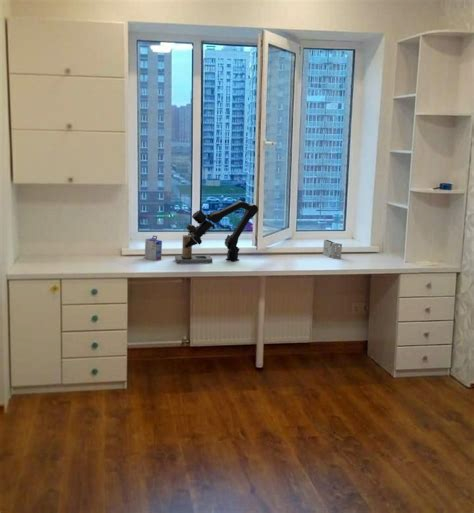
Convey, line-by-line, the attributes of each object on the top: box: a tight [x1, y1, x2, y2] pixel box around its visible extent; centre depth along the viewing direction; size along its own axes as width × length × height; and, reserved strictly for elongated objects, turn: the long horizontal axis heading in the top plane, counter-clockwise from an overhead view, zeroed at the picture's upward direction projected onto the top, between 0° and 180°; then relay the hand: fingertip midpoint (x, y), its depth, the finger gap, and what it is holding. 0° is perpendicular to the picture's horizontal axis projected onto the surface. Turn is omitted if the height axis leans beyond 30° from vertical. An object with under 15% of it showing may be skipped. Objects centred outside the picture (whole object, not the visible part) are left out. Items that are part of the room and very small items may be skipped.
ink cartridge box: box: [144, 235, 163, 262], centre depth 401 cm, size 10×6×14 cm, turn 53°
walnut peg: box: [181, 234, 193, 258], centre depth 399 cm, size 5×5×13 cm
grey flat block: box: [174, 254, 213, 264], centre depth 402 cm, size 22×9×2 cm, turn 104°
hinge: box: [322, 239, 343, 259], centre depth 430 cm, size 14×5×10 cm, turn 41°
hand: (184, 246), depth 398 cm, fingers closed on walnut peg, 5 cm apart
